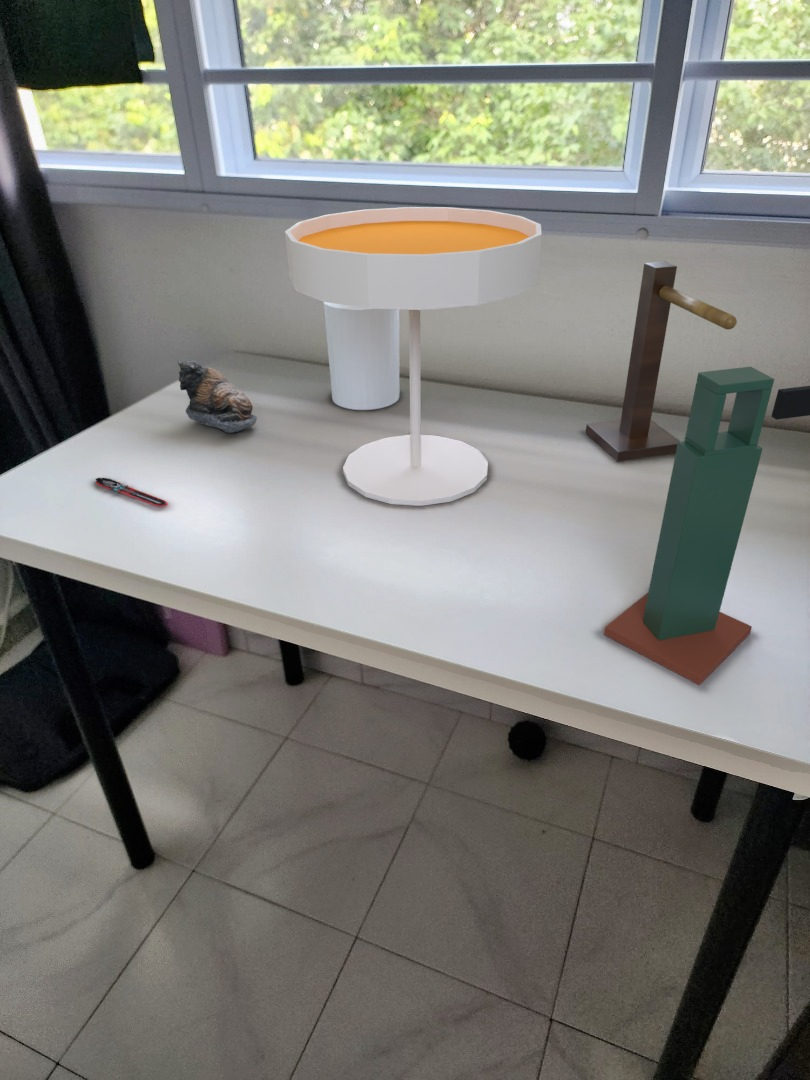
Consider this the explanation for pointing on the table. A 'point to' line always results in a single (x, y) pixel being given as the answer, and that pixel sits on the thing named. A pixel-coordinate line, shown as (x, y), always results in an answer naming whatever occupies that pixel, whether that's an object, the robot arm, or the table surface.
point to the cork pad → (679, 642)
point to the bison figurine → (214, 398)
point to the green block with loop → (706, 503)
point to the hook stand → (649, 367)
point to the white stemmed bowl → (414, 315)
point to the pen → (130, 491)
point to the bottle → (363, 355)
